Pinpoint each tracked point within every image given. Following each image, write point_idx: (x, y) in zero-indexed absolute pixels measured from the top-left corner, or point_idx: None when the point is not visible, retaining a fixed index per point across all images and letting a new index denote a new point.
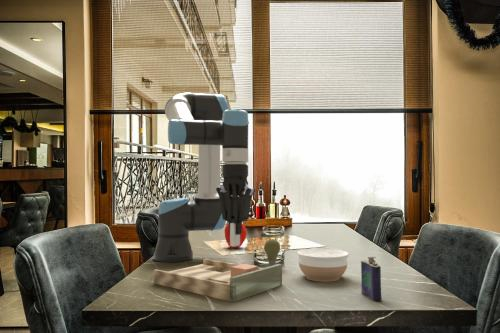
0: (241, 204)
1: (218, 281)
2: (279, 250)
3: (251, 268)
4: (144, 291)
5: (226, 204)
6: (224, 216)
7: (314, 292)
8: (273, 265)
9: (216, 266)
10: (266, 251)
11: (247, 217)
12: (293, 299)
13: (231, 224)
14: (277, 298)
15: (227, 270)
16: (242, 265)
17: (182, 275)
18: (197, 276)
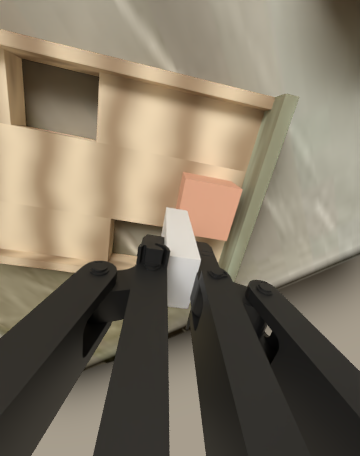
0: (281, 430)
1: (143, 222)
2: None
3: (233, 218)
4: (30, 291)
5: (28, 421)
6: (94, 330)
7: (356, 139)
8: (275, 129)
9: (4, 49)
10: None
11: (284, 305)
12: (315, 212)
13: (168, 302)
14: (284, 220)
15: (66, 65)
16: (195, 201)
17: (70, 270)
18: (71, 215)
